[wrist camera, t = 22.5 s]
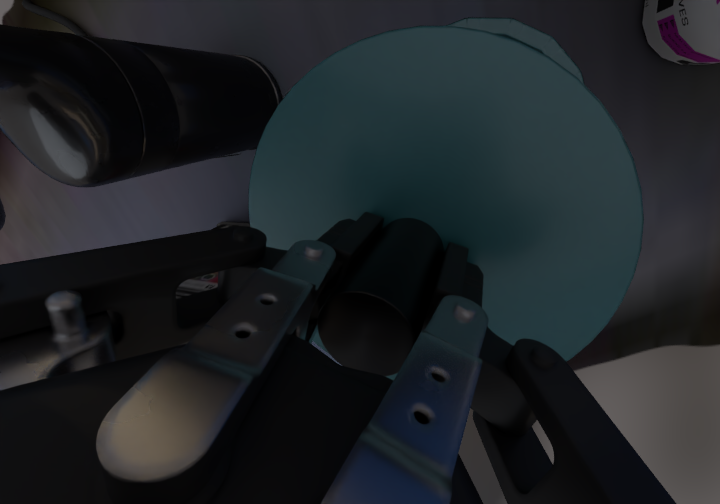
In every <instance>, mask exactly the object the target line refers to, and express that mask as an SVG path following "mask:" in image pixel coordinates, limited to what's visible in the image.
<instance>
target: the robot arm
mask: <svg viewBox="0 0 720 504" xmlns="http://www.w3.org/2000/svg"><path fill="white" fill-rule="evenodd" d="M22 4H23V6H24V7H25V8H26V9H27V10H29V11H31V12H33V13H36V14H39V15H41V16H44V17H47V18H49V19H52V20H54V21H56V22H59V23H61V24H62V25H64V26H66V27H68V28H69V29H70V30H72V31H73V32H74V33H75V34H76V35H75V34H71V33H64V32H55V31H47V30H38V29H30V28H23V27H15V26H8V25H1V24H0V130H1V132H2V133H3V134H4V135H5V136H6V137H7V138H8V139H9V140H10V141H11V142H12V144H13V145H14V146H15V147H16V148H17V149H18V150H19V151H20V152H21V153H22V154H23V155H24V156H25V157H26V158H27V159H28V160H29V161H30V162H31V163H32V164H33V165H34V166H36V167H37V168H38V169H39V170H41V171H42V172H43V173H45V174H46V175H48V176H49V177H51V178H53V179H55V180H57V181H59V182H61V183H64V184H67V185H70V186H74V187H96V186H101V185H105V184H109V183H114V182H118V181H122V180H126V179H130V178H134V177H138V176H142V175H146V174H151V173H154V172H158V171H162V170H166V169H170V168H175V167H179V166H183V165H187V164H191V163H195V162H199V161H203V160H208V159H212V158H219V157H226V156H224V155H228V154H232V153H237V152H241V151H245V150H253V149H257V147H258V144H259V142H260V139H261V137H262V135H263V132H264V130H265V127H266V125H267V124H268V122H269V120H270V119H271V117H272V115H273V113H274V112H275V110H276V108H277V107H278V105H279V104H280V103H281V101H282V97H281V94H280V90H279V88H278V85H277V83H276V81H275V79H274V78H273V76H272V75H271V73H270V72H269V71H268V70H267V69H266V68H265V67H264V66H263V65H262V64H261V63H260V62H258V61H256V60H255V59H253V58H250V57H247V56H241V55H225V54H219V53H212V52H204V51H197V50H189V49H182V48H174V47H167V46H159V45H152V44H144V43H137V42H129V41H122V40H114V39H105V38H98V37H90V36H88V35H87V34H86V33H85V32H84V31H82V30H81V29H80V28H79V27H78V26H77V25H75V24H74V23H73V22H71V21H70V20H68V19H67V18H65V17H63V16H61V15H59V14H57V13H55V12H52V11H50V10H47V9H45V8H42V7H39V6H37V5H34V4H32V2H31V1H30V0H23V2H22ZM235 155H239V154H235ZM228 156H234V155H228ZM5 217H6V215H5V211H4V207H3V204H2V202H1V199H0V230H1V229H2V227H3V225H4V223H5ZM383 222H384V218H383V217H380V216H377V215H374V214H371V213H369V212H365V213H364V214H363V215H362V216H361V217H359V218H358V219H357V220H356V221H355V220H352V219H350V218H349V219H345V220H341V221H338V222H337V223H336V224H335V225H334V226H333V227H331V228H330V229H329V230H328V231H327V232H326V233H324V234H323V235H322V236H321V237H320V238H319V239H317V240H316V241H315V240H301V241H298V242H296V243H294V244H293V245H292V246H291V247H290V249H289V250H281V249H276V248H271V247H266V241H267V237H266V235H265V234H264V233H263V232H262V231H260V230H258V229H255V228H252V227H247V226H232V227H226V228H220V229H214V230H208V231H202V232H196V233H190V234H184V235H177V236H171V237H165V238H159V239H153V240H147V241H141V242H135V243H129V244H123V245H117V246H111V247H105V248H99V249H93V250H87V251H81V252H75V253H69V254H63V255H57V256H50V257H44V258H38V259H32V260H26V261H20V262H14V263H8V264H2V265H0V504H483V502H482V500H481V498H480V496H479V494H478V492H477V490H476V488H475V486H474V484H473V482H472V480H471V478H470V476H469V474H468V472H467V470H466V468H465V466H464V464H463V462H462V460H461V458H460V456H459V454H458V452H459V449H460V445H461V441H462V437H463V433H464V429H465V426H466V422H467V418H468V415H469V411H470V408H471V409H473V410H474V411H473V420H474V422H475V425H476V428H477V430H478V433H479V435H480V437H481V439H482V442H483V445H484V447H485V450H486V452H487V455H488V457H489V459H490V462H491V464H492V467H493V469H494V472H495V474H496V477H497V479H498V481H499V484H500V486H501V489H502V491H503V494H504V496H505V499H506V501H507V503H508V504H676V503H675V501H674V500H673V499H672V498H671V496H670V495H669V494H668V492H667V491H666V490H665V489H664V487H663V486H662V485H661V483H660V482H659V481H658V480H657V478H656V477H655V476H654V474H653V473H652V472H651V471H650V469H649V468H648V467H647V465H646V464H645V463H644V462H643V460H642V459H641V458H640V456H639V455H638V454H637V453H636V451H635V450H634V449H633V447H632V446H631V445H630V443H629V442H628V441H627V440H626V438H625V437H624V436H623V435H622V433H621V432H620V431H619V430H618V428H617V427H616V425H615V424H614V423H613V422H612V420H611V419H610V418H609V416H608V415H607V414H606V413H605V411H604V410H603V409H602V407H601V406H600V405H599V404H598V402H597V401H596V400H595V398H594V397H593V396H592V395H591V393H590V392H589V391H588V389H587V388H586V387H585V386H584V384H583V383H582V382H581V381H580V379H579V378H578V377H577V375H576V374H575V373H574V371H573V370H572V369H571V368H570V366H569V365H568V364H567V362H566V361H565V360H564V359H563V358H562V357H561V356H560V355H559V354H558V353H557V352H556V351H555V350H553V349H552V348H550V347H549V346H547V345H545V344H543V343H541V342H539V341H536V340H533V339H526V338H524V339H519V340H518V341H516V343H515V344H514V346H513V345H511V344H510V343H508V342H507V341H505V340H503V339H502V338H500V337H499V336H497V335H496V334H495V333H494V332H492V331H491V330H490V329H489V328H488V322H489V318H488V315H487V314H486V312H485V311H484V310H483V309H482V296H483V276H484V275H483V273H482V271H481V270H480V268H479V266H477V265H474V264H472V263H469V262H467V257H468V251H469V249H468V248H466V247H463V246H460V245H457V244H454V243H452V242H449V244H448V246H447V249H446V251H445V254H444V256H443V259H442V262H441V266H440V269H439V272H438V276H437V279H436V282H435V286H434V289H433V292H432V296H431V299H430V303H429V306H428V309H427V313H426V317H425V321H424V324H423V327H422V331H421V333H420V335H419V337H418V338H417V340H416V342H415V344H414V345H413V347H412V349H411V351H410V352H409V354H408V356H407V358H406V359H405V361H404V363H403V365H402V366H401V368H400V370H399V372H398V373H397V375H396V377H395V379H394V380H392V379H390V378H387V377H385V376H383V375H379V374H375V373H370V372H366V371H361V370H357V369H353V368H348V367H344V366H341V365H339V364H337V363H336V362H334V361H333V360H332V359H330V358H329V357H328V356H326V355H325V354H324V353H322V352H321V351H320V350H318V349H317V348H316V347H314V346H313V345H312V344H311V343H312V340H313V338H314V336H315V334H316V332H317V330H318V328H317V319H318V314H319V311H320V309H321V307H322V305H323V304H324V303H325V301H326V300H327V299H328V297H329V296H330V295H331V294H332V292H333V291H334V290H335V289H336V287H337V286H338V285H339V284H340V282H341V281H342V280H343V279H344V277H345V276H346V275H347V274H348V272H349V271H350V270H351V269H352V267H353V266H354V265H355V263H356V262H357V261H358V260H359V258H360V257H361V256H362V255H363V253H364V252H365V251H366V250H367V248H368V247H369V246H370V245H371V243H372V242H373V241H374V240H375V238H376V237H377V236H378V235H379V233H380V232H381V229H382V226H383ZM215 272H218V287H217V288H213V289H210V290H206V291H203V292H199V293H196V294H192V295H189V296H185V297H181V298H178V299H176V290H177V288H178V287H179V285H180V284H181V283H183V282H184V281H186V280H188V279H191V278H195V277H199V276H203V275H207V274H211V273H215ZM186 342H188V343H186ZM184 343H186V344H184ZM181 344H182V345H181ZM536 420H538V421H539V423H540V425H541V427H542V428H543V430H544V431H545V434H546V435H547V437H548V439H549V440H550V442H551V444H552V447H553V451H554V464H552V463H551V461H550V459H549V457H548V455H547V453H546V452H545V450H544V448H543V446H542V444H541V443H540V441H539V439H538V437H537V436H536V434H535V432H534V430H533V428H532V425H533V424H534V423H535V422H536Z"/></svg>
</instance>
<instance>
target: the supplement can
mask: <svg viewBox="0 0 720 504" xmlns="http://www.w3.org/2000/svg"><path fill="white" fill-rule="evenodd" d="M642 24H643V28H644V31H645V35H646V38H647V41H648V44H649V45H650V46H651V47H652V48H653V49H654V50H655V51H656V52H657V53H658V54H659V55H660V56H661V57H662V58H664V59H667V60H670V61H673V62H675V63H678V64H681V65H698V64H713V63H720V0H645V5H644V13H643V22H642Z"/></svg>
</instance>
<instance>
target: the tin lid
mask: <svg viewBox="0 0 720 504" xmlns="http://www.w3.org/2000/svg"><path fill="white" fill-rule="evenodd" d="M248 210H249V220H250V227H252V228H255V229H258V230H260V231H262V232H263V233H264V234H265V235H266V237H267V241H266V247H271V248H276V249H281V250H289V249H290V247H291V246H292V245H293V244H294V243H296V242H298V241H301V240H315V241H316V240H317V239H319V238H320V237H321V236H322V235H323V234H324V233H326V232H327V231H328V230H329V229H330V228H331V227H333V226H334V225H335V224H336V223H337V222H338V221H341V220H345V219H349V218H350V219H352V220H355V221H356V220H357V219H358V218H359V217H361V216H362V215H363V214H364V213H365V212H369V213H371V214H374V215H377V216H380V217H383V218H384V222H383V226H382V229H381V232H380V233H379V235H378V236H377V237H376V238H375V240H374V241H373V242H372V243H371V245H370V246H369V247H368V248H367V250H366V251H365V252H364V253H363V255H362V256H361V257H360V258H359V260H358V261H357V262H356V263H355V265H354V266H353V267H352V269H351V270H350V271H349V272H348V274H347V275H346V276H345V277H344V279H343V280H342V281H341V282H340V284H339V285H338V286H337V287H336V289H335V290H334V291H333V292H332V294H331V295H330V296H329V297H328V299H327V300H326V301H325V303H324V304H323V305H322V307H321V309H320V311H319V314H318V319H317V328H318V330H317V332H316V334H315V336H314V338H313V341H314V342H315V343H316V344H317V345H318V346H320V347H321V348H322V349H323V350H325V351H326V352H327V353H329V354H330V355H331V356H332V357H333V358H334V359H335V360H336V361H337V362H339V363H340V364H341V365H343V366H344V367H348V368H353V369H357V370H361V371H366V372H370V373H375V374H379V375H383V376H385V377H387V378H390V379H392V380H394V379H395V377H396V375H397V373H398V372H399V370H400V368H401V366H402V365H403V363H404V361H405V359H406V358H407V356H408V354H409V352H410V351H411V349H412V347H413V345H414V344H415V342H416V340H417V338H418V337H419V335H420V333H421V331H422V327H423V324H424V321H425V317H426V313H427V309H428V306H429V303H430V299H431V296H432V292H433V289H434V286H435V282H436V279H437V276H438V272H439V269H440V266H441V262H442V259H443V256H444V254H445V251H446V249H447V246H448V244H449V242H452V243H454V244H457V245H460V246H463V247H466V248H468V249H469V251H468V257H467V262H469V263H472V264H474V265H477V266H479V268H480V270H481V271H482V273H483V275H484V276H483V296H482V309H483V310H484V311H485V312H486V314H487V315H488V318H489V322H488V328H489V329H490V330H491V331H492V332H494V333H495V334H496V335H497V336H499V337H500V338H502V339H503V340H505V341H507V342H508V343H510V344H511V345H513V346H514V344H515V343H516V341H518V340H519V339H524V338H526V339H533V340H536V341H539V342H541V343H543V344H545V345H547V346H549V347H550V348H552V349H553V350H555V351H556V352H557V353H558V354H559V355H560V356H561V357H562V358H563V359H564V360H565V361H568V360H569V359H571V358H572V357H574V356H575V355H576V354H577V353H578V352H580V351H581V350H582V349H583V348H584V347H586V346H587V345H588V344H589V343H590V342H591V341H592V340H593V339H594V338H595V337H596V336H597V335H598V334H599V332H600V331H601V330H602V329H603V328H604V327H605V326H606V325H607V324H608V322H609V321H610V319H611V318H612V316H613V315H614V313H615V312H616V310H617V309H618V307H619V306H620V304H621V302H622V301H623V299H624V296H625V294H626V292H627V290H628V288H629V285H630V283H631V281H632V279H633V277H634V273H635V270H636V266H637V262H638V258H639V255H640V251H641V244H642V234H643V223H644V216H643V203H642V191H641V186H640V182H639V178H638V174H637V171H636V167H635V163H634V159H633V157H632V155H631V152H630V150H629V148H628V146H627V144H626V142H625V139H624V137H623V135H622V133H621V131H620V129H619V127H618V126H617V124H616V123H615V121H614V120H613V119H612V117H611V116H610V114H609V113H608V111H607V110H606V108H605V107H604V105H603V104H602V103H601V101H600V100H599V99H598V98H597V97H596V96H595V95H594V94H593V93H592V92H591V91H590V90H589V89H588V88H587V87H586V86H585V85H584V84H583V83H582V82H581V81H580V80H579V79H578V78H577V77H576V76H575V75H573V74H572V73H571V72H569V71H568V70H567V69H565V68H564V67H562V66H561V65H560V64H558V63H557V62H556V61H554V60H553V59H551V58H550V57H549V56H547V55H545V54H543V53H541V52H539V51H537V50H535V49H533V48H531V47H529V46H527V45H525V44H523V43H521V42H519V41H516V40H513V39H510V38H507V37H504V36H500V35H497V34H494V33H491V32H488V31H484V30H477V29H471V28H464V27H458V26H416V27H410V28H403V29H397V30H391V31H387V32H384V33H381V34H377V35H374V36H371V37H368V38H365V39H362V40H359V41H357V42H355V43H353V44H351V45H349V46H347V47H345V48H343V49H341V50H339V51H337V52H335V53H334V54H332V55H331V56H329V57H328V58H326V59H325V60H324V61H322V62H321V63H319V64H318V65H316V66H315V67H314V68H312V69H311V70H310V71H309V72H308V73H307V74H306V75H305V76H304V77H303V78H302V79H301V80H299V81H298V82H297V83H296V84H295V85H294V86H293V87H292V89H291V90H290V91H289V92H288V94H287V95H286V96H285V98H284V99H283V100H282V101H281V103H280V104H279V105H278V107H277V108H276V110H275V112H274V113H273V115H272V117H271V119H270V120H269V122H268V124H267V125H266V127H265V130H264V132H263V135H262V137H261V139H260V142H259V144H258V147H257V150H256V154H255V157H254V161H253V165H252V169H251V176H250V183H249V206H248Z"/></svg>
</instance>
